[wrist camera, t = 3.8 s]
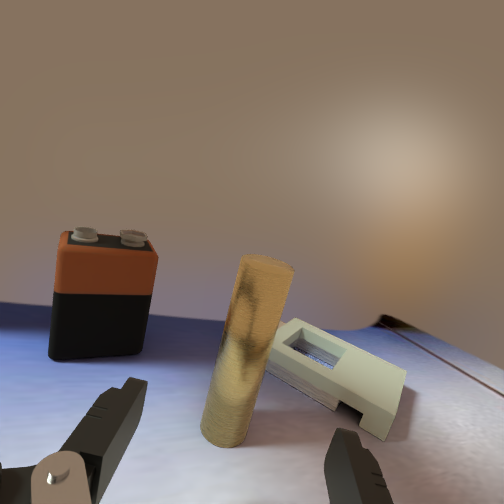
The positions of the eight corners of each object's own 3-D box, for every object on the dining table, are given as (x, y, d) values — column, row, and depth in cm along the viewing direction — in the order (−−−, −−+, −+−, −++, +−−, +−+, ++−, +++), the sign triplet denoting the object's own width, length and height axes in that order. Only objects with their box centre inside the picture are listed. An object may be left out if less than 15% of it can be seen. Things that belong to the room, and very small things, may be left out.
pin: (190, 426, 21) (230, 257, 18) (219, 402, 24) (259, 252, 21) (228, 457, 20) (279, 278, 17) (254, 428, 22) (302, 269, 19)
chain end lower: (357, 371, 33) (361, 361, 32) (334, 411, 26) (339, 399, 26) (260, 320, 38) (263, 312, 38) (220, 343, 31) (223, 332, 31)
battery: (142, 356, 27) (162, 244, 24) (46, 363, 23) (58, 233, 21) (135, 328, 30) (152, 228, 28) (51, 331, 27) (62, 217, 24)
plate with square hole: (253, 363, 30) (260, 340, 29) (289, 336, 36) (295, 317, 36) (384, 441, 24) (395, 416, 23) (398, 392, 31) (406, 371, 30)
